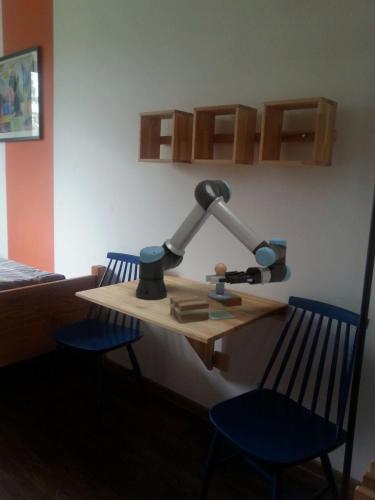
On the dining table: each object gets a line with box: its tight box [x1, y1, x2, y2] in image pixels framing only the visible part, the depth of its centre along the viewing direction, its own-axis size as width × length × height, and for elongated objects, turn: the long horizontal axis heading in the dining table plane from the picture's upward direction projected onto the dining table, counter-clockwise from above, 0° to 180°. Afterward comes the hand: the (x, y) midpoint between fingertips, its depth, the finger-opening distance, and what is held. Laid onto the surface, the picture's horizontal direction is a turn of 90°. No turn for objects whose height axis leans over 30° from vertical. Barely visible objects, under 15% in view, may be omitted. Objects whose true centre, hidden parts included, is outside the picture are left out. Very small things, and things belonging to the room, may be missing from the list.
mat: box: [208, 309, 235, 321], centre depth 177 cm, size 10×10×1 cm
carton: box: [210, 288, 243, 308], centre depth 197 cm, size 8×16×4 cm, turn 24°
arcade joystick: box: [207, 262, 233, 300], centre depth 174 cm, size 10×10×14 cm
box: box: [169, 295, 210, 324], centre depth 173 cm, size 12×12×7 cm
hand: (208, 279), depth 172 cm, fingers closed on arcade joystick, 4 cm apart
